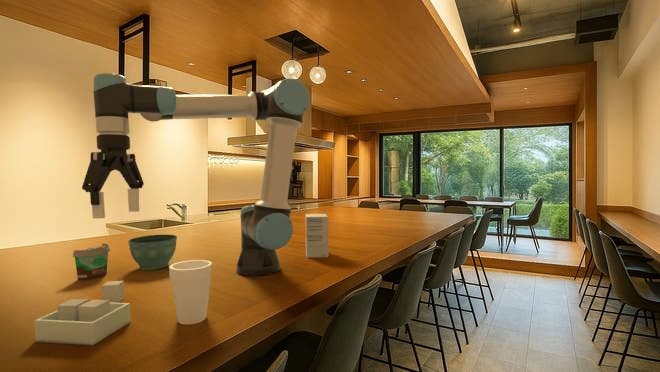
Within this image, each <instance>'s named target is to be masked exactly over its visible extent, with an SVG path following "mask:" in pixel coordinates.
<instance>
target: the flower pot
mask: <svg viewBox="0 0 660 372" xmlns="http://www.w3.org/2000/svg"><path fill="white" fill-rule="evenodd" d="M177 240H178V235H176V234H150V235H142V236H138V237H133V238H130V239H129V240H128V241H127V243H128V246H129V251H130V254H131V256H132V258H133V260H134V262H135V263H136V264H137V265H138V266H139V269H140V270H143V271H152V270H153V271H154V270H155V271H156V270H160V269H163V268H166V267H169V263H170V261H171V259H172V258H173V256H174V254H175V252H176V249H177Z"/></svg>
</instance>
